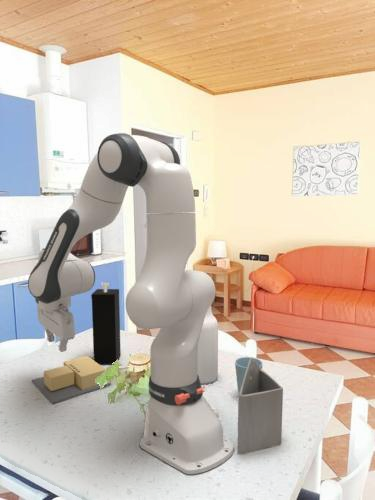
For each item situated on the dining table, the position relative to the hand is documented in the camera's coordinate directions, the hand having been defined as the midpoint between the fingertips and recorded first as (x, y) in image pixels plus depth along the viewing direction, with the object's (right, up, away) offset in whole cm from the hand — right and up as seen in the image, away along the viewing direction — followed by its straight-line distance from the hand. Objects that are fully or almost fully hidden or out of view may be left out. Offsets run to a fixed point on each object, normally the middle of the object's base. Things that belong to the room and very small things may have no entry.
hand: (56, 345), depth 118 cm
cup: (+56, -14, -5) cm, 58 cm away
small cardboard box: (0, -12, +1) cm, 12 cm away
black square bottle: (+11, -10, +21) cm, 26 cm away
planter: (+57, -16, -25) cm, 64 cm away
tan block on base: (+3, -12, +4) cm, 13 cm away
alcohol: (+44, -12, +7) cm, 46 cm away
